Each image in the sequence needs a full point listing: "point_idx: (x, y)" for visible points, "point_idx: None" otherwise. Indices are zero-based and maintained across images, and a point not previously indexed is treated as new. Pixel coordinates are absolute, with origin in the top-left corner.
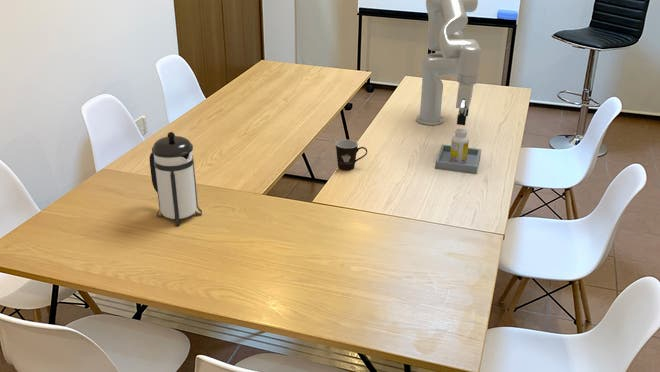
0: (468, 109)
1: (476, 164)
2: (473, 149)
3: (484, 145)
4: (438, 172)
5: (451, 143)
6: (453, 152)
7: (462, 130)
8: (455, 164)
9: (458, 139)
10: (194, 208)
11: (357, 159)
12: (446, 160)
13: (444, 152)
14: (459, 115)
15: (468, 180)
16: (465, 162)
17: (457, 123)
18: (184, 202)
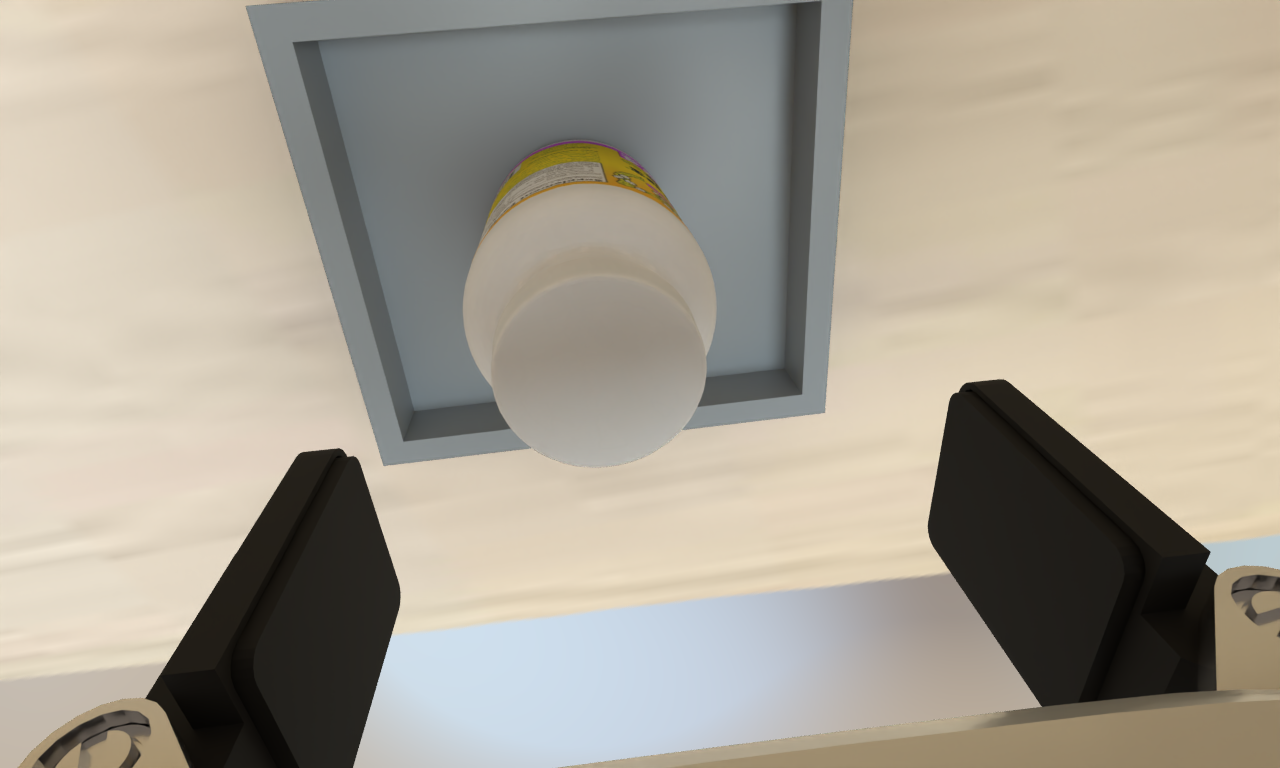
0: (1032, 674)
1: (432, 449)
2: (803, 348)
3: (1046, 365)
4: (201, 77)
5: (545, 182)
6: (491, 211)
7: (634, 392)
8: (324, 262)
9: (482, 324)
10: None
11: None
12: (534, 103)
13: (755, 26)
14: (203, 699)
15: (218, 397)
16: None
17: (299, 475)
18: None
